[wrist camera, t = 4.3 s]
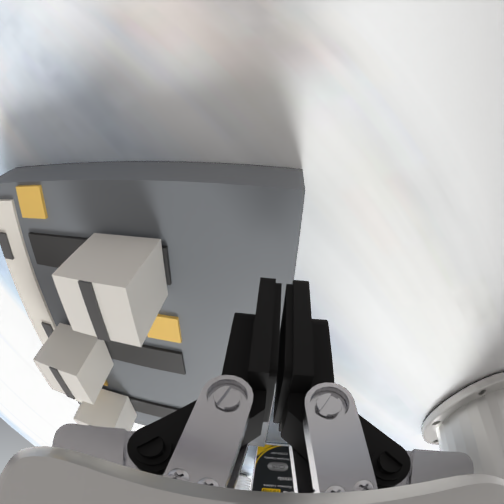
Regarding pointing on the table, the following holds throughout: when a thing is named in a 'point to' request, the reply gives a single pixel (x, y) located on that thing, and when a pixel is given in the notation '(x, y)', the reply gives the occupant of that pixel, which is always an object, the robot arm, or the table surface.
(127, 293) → the switch
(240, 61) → the table surface
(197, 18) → the table surface
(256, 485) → the medicine bottle
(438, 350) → the table surface
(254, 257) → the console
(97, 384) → the switch
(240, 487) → the lightbulb
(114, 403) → the switch
